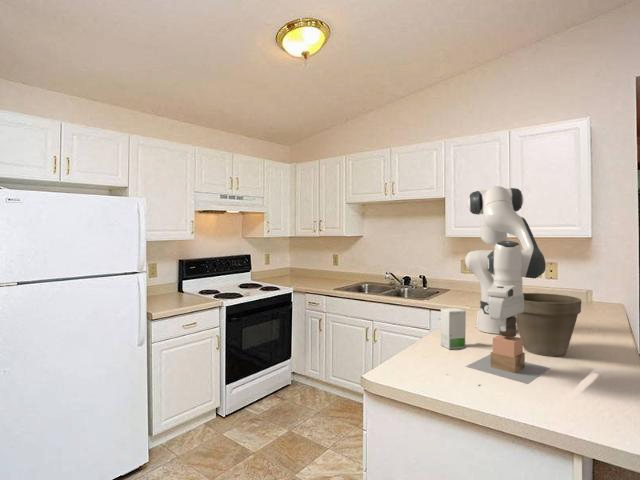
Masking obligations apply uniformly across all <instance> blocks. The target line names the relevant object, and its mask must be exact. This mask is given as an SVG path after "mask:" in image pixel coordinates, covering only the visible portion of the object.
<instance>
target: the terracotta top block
mask: <svg viewBox="0 0 640 480" xmlns="http://www.w3.org/2000/svg"><path fill="white" fill-rule="evenodd" d="M523 350H524V347H523V338H520V337H517V336H515V337H506V336H502V335H500V334H498V335H497V336H494V337H492V352H493V353H497V354H501V355H505V356H510V357H516V356H518V355H520V354H522V353H524V352H523Z"/></svg>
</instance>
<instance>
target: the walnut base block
mask: <svg viewBox="0 0 640 480" xmlns="http://www.w3.org/2000/svg"><path fill="white" fill-rule="evenodd" d="M490 354H491V367H493V368H496V369H500V370H504V371H508V372H511V373H517V372H518V371H520V370H522V369H523V368H525V362H526V361H525V360H526V354H525V352H523V353H522V354H520V355H518V356H516V357H510V356H505V355H501V354H497V353H493V351H491V352H490Z"/></svg>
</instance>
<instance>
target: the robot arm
mask: <svg viewBox="0 0 640 480" xmlns="http://www.w3.org/2000/svg"><path fill="white" fill-rule="evenodd" d="M523 204H524V195H523V193H522V191H521V189H520V188H516V187H511V188H505V187H504V186H501V185H500V186H499V185H497V186H492V187H490V188H488V189H485V190H484V189H483V190H480V191H479V190H476V191H473V192H471V193H470V194H469V196H468V199H467V208H468V209H469V212H470V213H471V214H473V215H480V239H481V240H482V242H483V243H484V244H487V245H488V246H491V247H493V249H492V250H491V249H477V250H476V249H475V250H472V251H469V252H468V253H467V254H466V255H465V258H464V265H465V266H466V268H467V270H469V271H470V272H471V273H473V274H474V275H475V276H476V279H477V280H478V282H479V285H480V295H481V296H480V298H481V300H480V303H479V308H480V309H479V310H478V311H477V317H476V318H477V319H476V324H474V325H473V326H474V328H476V329H477V330H478V331H479V332H484V333H488V334H495V335H496V334H497V335H500V330H501V331H507V326H506V318H509V317H515V318H517V314H520V313H523V312H524V295H523V293H524V292H523V278H525V279H526V278H528V279H538V278H539V277H540V276H542V275H543V274H544V273H545V271H546V263H547V262H546V259H545V256H544V254H543V252H542V251H541V250H540V248H539V246H538V244H537V241H536V240H535V236H534V235H533V232H532V230H531V228H530V225H529V224H528V221H527V220H526V219H525V217H522V216H520V215H519V214H518V213H517V212H519V211H520V210H521V209H522V207H523ZM508 234H509V235H511V236H514V237H516V238H517V239H518V240H519V241H520V243H519V242H517V241H513V240H509V239H508ZM516 332H518V328H517V324H516Z"/></svg>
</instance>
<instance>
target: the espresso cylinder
mask: <svg viewBox="0 0 640 480" xmlns="http://www.w3.org/2000/svg"><path fill="white" fill-rule="evenodd" d="M516 325H517V324H516V318H515V317H509V318H506V326H507V331H501V330H500V334H499V335H502V336H506V337H517V331H516Z"/></svg>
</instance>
